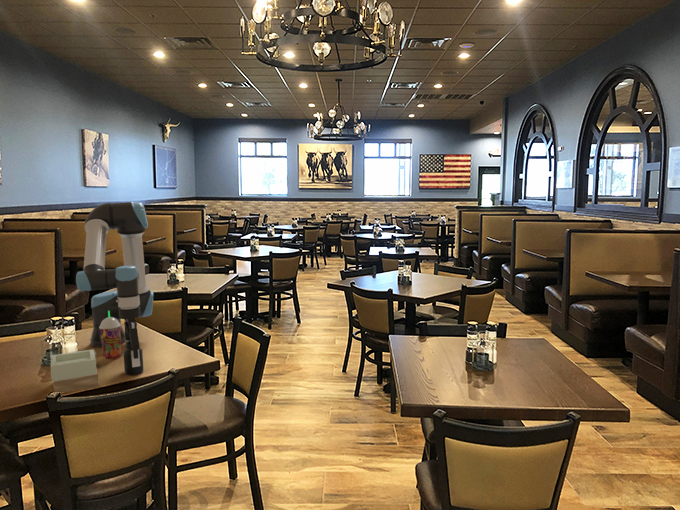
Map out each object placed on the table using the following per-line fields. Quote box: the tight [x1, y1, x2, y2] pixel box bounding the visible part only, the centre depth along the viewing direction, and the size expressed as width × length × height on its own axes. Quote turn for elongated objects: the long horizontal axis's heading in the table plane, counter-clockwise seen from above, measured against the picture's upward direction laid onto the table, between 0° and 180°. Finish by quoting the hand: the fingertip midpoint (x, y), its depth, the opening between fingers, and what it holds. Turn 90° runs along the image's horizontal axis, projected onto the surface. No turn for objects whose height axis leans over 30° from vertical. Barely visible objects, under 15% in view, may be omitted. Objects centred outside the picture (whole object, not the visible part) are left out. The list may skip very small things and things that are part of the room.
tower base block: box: [53, 368, 100, 394], centre depth 188 cm, size 14×14×5 cm
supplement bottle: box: [122, 341, 145, 376], centre depth 198 cm, size 7×7×12 cm
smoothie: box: [99, 311, 122, 360], centre depth 217 cm, size 8×8×20 cm
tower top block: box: [50, 348, 98, 383], centre depth 188 cm, size 14×14×6 cm
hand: (133, 361), depth 199 cm, fingers open, 13 cm apart
